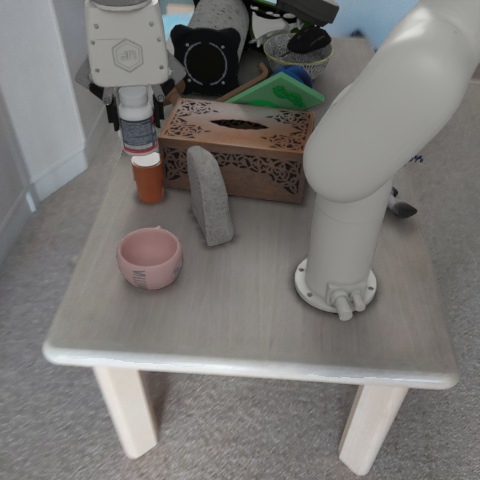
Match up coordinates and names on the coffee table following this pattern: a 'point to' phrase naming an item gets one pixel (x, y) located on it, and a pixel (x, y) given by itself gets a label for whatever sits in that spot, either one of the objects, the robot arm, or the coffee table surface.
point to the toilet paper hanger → (180, 87)
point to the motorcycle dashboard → (310, 10)
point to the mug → (150, 258)
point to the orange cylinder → (148, 177)
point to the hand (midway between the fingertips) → (137, 124)
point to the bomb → (296, 74)
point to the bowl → (296, 56)
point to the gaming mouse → (308, 40)
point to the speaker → (213, 45)
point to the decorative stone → (209, 196)
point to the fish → (400, 206)
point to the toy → (279, 94)
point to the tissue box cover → (239, 147)
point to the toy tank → (272, 17)
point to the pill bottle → (136, 121)
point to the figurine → (270, 28)
